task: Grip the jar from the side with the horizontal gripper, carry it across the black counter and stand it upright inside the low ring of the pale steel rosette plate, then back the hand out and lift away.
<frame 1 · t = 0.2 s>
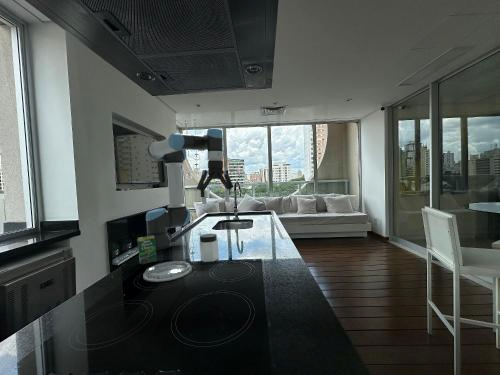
hand: (216, 203, 128), 27 cm above the cooktop, tool pointing down, fingers open, 13 cm apart
rosette plate: (168, 272, 112), on the cooktop
coffee box: (148, 263, 128), on the cooktop
jar: (209, 259, 127), on the cooktop
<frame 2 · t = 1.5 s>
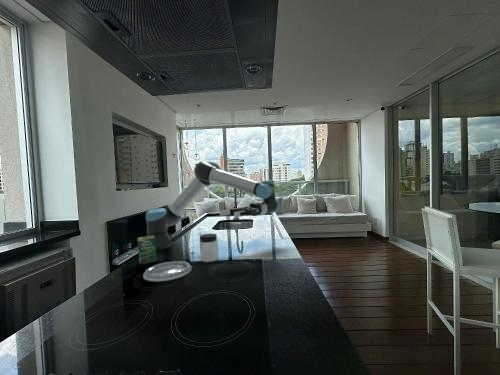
hand: (226, 214, 134), 21 cm above the cooktop, tool horizontal, fingers open, 13 cm apart
nothing on the cooktop moved.
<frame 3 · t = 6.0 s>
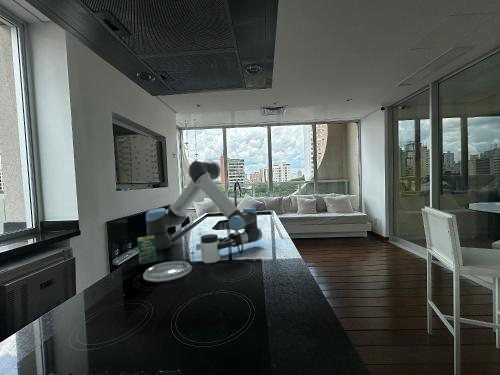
hand: (199, 248, 123), 7 cm above the cooktop, tool horizontal, fingers open, 5 cm apart
jar: (210, 260, 125), on the cooktop, touching gripper
everything else where it was.
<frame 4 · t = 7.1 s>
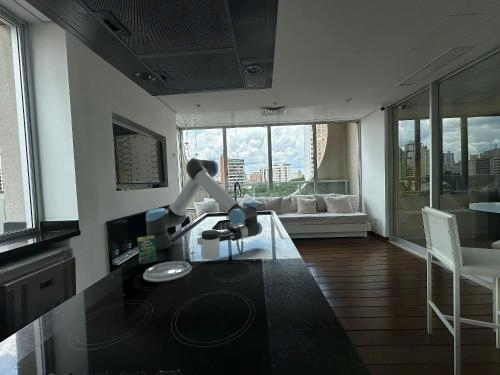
hand: (198, 241, 123), 10 cm above the cooktop, tool horizontal, fingers closed on jar
jar: (210, 256, 123), point 2 cm above the cooktop, touching gripper
everything else where it was.
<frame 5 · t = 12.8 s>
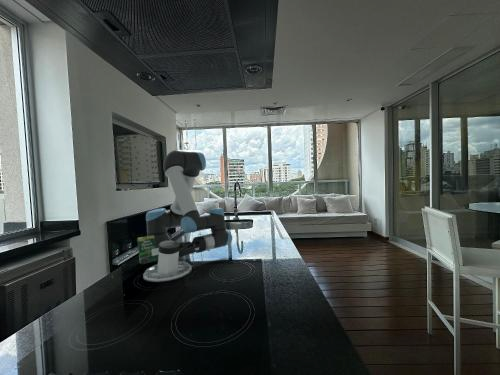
hand: (155, 254, 108), 9 cm above the cooktop, tool horizontal, fingers open, 9 cm apart
jar: (167, 271, 108), point 2 cm above the cooktop, touching rosette plate
everything else where it was.
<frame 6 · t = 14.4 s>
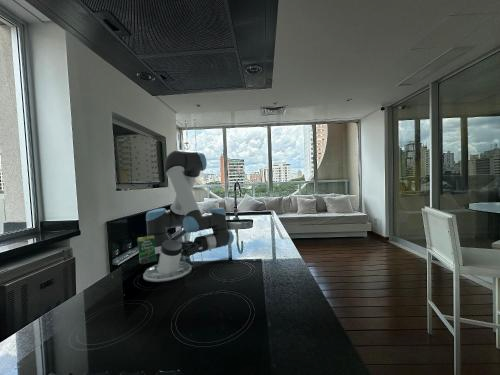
hand: (160, 253, 110), 9 cm above the cooktop, tool horizontal, fingers open, 13 cm apart
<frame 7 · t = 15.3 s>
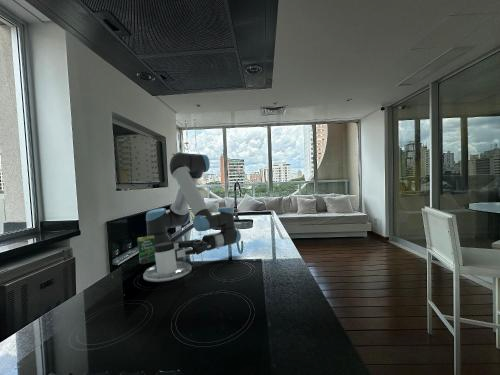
hand: (170, 251, 112), 9 cm above the cooktop, tool horizontal, fingers open, 13 cm apart
jar: (167, 272, 108), point 1 cm above the cooktop, touching rosette plate
everything else where it was.
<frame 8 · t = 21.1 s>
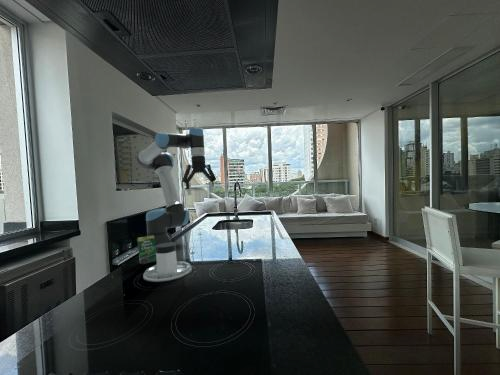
hand: (200, 194, 143), 32 cm above the cooktop, tool pointing down, fingers open, 13 cm apart
at the end: jar inside the target area on the rosette plate (3.3 cm from its centre), point 0.8 cm above the rosette plate's base; jar tilted 0°; the gripper is holding nothing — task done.
